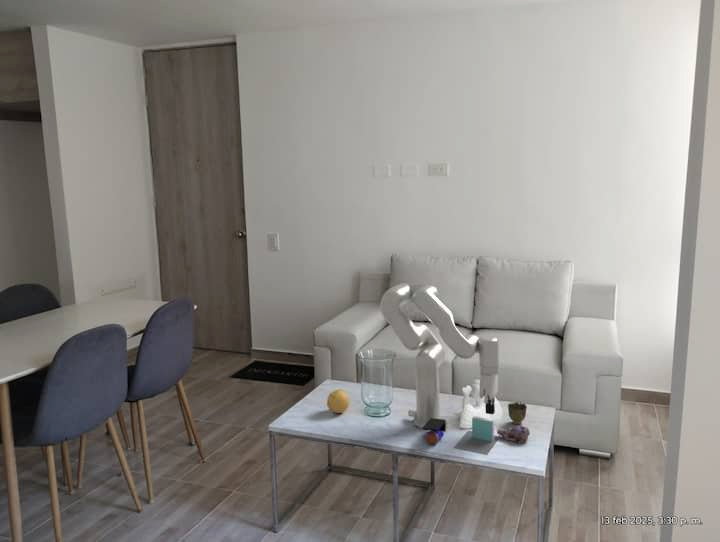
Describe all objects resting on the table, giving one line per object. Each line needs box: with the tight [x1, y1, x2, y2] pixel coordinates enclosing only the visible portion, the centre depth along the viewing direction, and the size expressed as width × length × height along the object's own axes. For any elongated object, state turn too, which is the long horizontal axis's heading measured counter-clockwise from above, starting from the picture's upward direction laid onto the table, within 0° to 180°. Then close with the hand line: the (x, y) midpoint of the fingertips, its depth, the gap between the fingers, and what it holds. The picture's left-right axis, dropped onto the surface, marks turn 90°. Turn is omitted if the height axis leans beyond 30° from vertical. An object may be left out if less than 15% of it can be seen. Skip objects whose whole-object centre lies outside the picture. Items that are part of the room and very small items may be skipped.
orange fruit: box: [326, 389, 351, 414], centre depth 258 cm, size 10×10×10 cm
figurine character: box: [421, 418, 448, 446], centre depth 230 cm, size 7×8×15 cm
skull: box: [496, 425, 531, 444], centre depth 227 cm, size 12×8×6 cm, turn 60°
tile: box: [471, 416, 495, 441], centre depth 228 cm, size 8×2×8 cm, turn 61°
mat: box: [453, 430, 501, 456], centre depth 225 cm, size 13×17×1 cm
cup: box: [507, 401, 527, 426], centre depth 241 cm, size 8×7×8 cm
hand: (490, 413), depth 233 cm, fingers closed
